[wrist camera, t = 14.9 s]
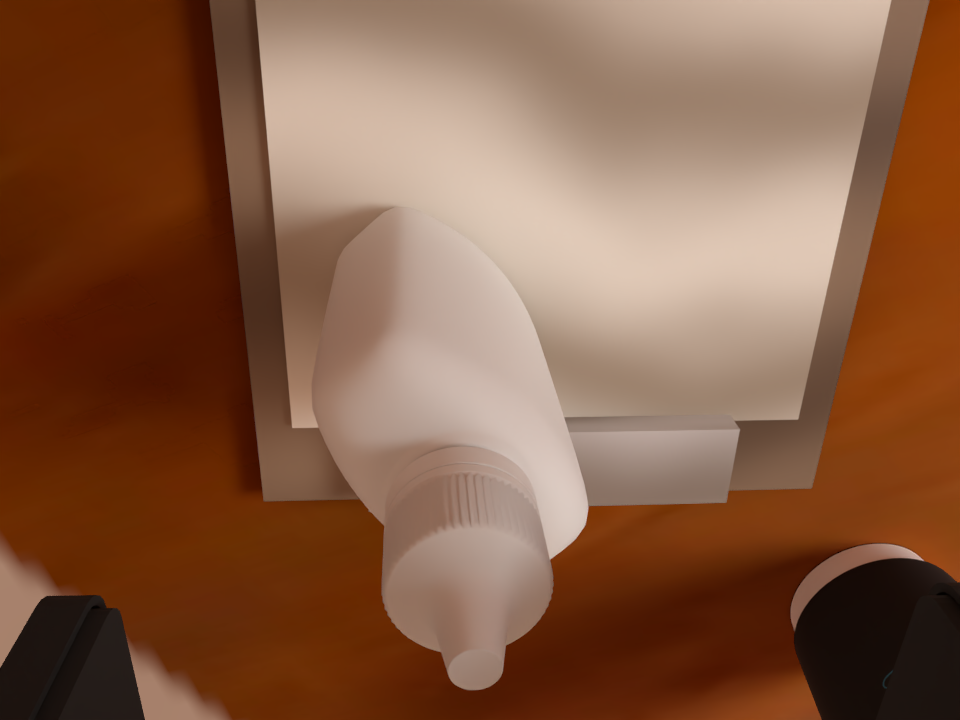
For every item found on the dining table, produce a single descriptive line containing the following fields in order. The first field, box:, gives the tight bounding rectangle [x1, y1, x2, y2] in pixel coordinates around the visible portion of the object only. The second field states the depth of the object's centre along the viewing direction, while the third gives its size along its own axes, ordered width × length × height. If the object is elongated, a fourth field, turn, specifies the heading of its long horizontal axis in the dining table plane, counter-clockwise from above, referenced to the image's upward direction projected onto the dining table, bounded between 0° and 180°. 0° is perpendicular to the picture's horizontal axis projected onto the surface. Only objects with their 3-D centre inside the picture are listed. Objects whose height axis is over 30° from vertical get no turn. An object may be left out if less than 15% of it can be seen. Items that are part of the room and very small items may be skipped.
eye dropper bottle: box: [312, 207, 588, 690], centre depth 16 cm, size 4×6×12 cm
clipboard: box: [209, 0, 929, 511], centre depth 19 cm, size 22×16×2 cm
